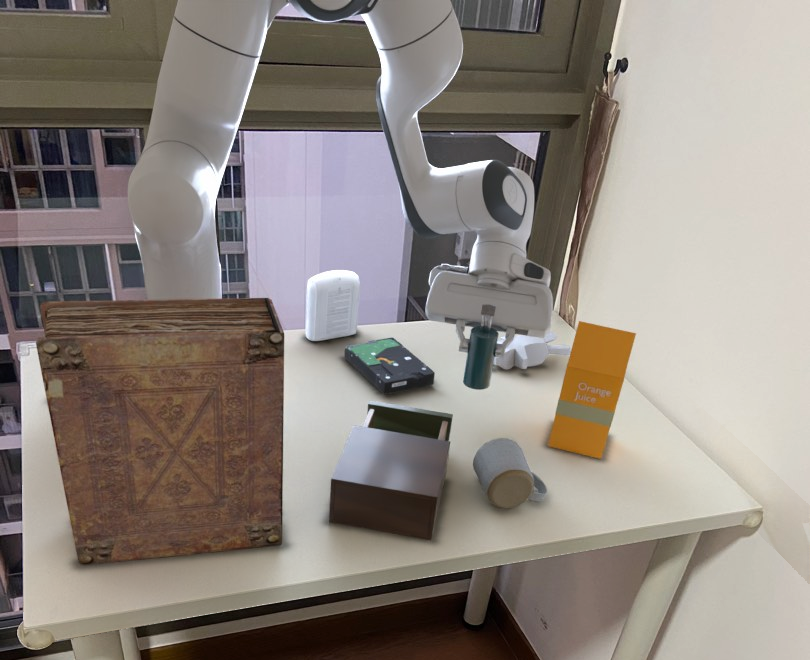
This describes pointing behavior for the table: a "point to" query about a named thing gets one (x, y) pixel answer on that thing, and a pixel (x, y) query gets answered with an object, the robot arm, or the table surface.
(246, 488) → the book
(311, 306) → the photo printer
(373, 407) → the drawer
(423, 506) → the cabinet
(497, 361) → the bunny figurine
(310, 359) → the table surface
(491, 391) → the table surface
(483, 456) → the ceramic mug
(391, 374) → the disk drive
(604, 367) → the orange juice
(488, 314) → the cutlery cup
